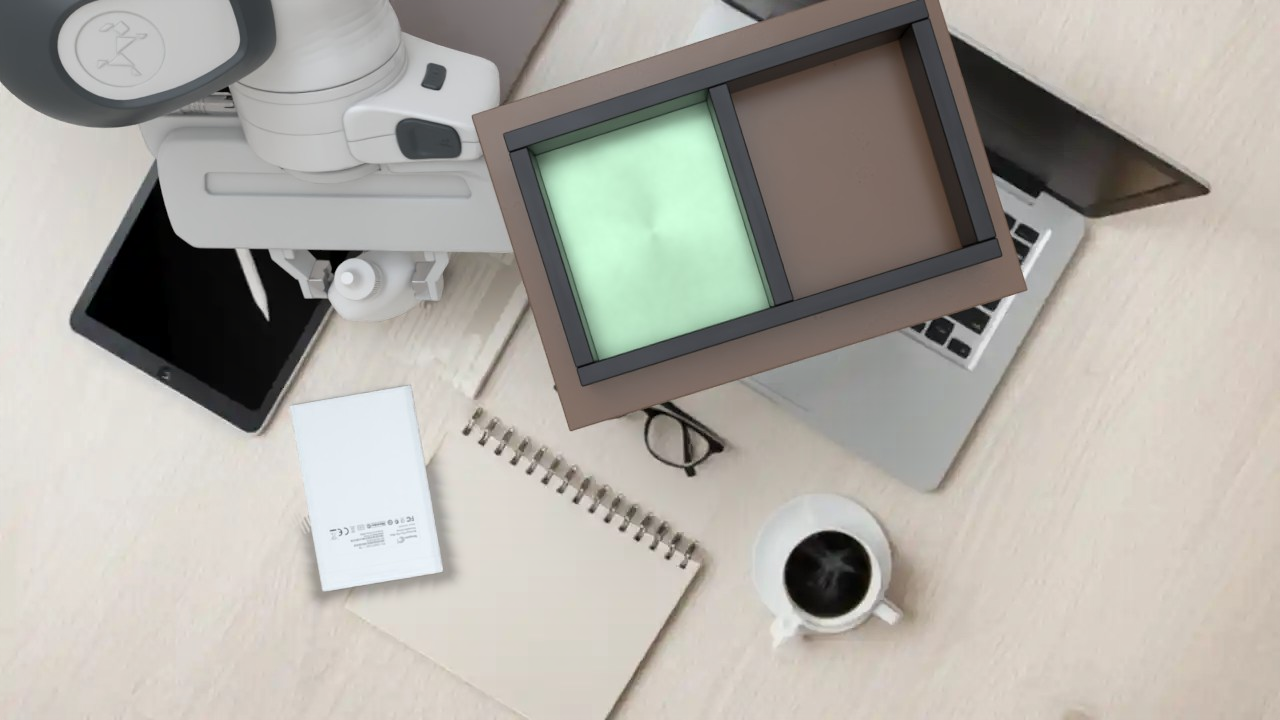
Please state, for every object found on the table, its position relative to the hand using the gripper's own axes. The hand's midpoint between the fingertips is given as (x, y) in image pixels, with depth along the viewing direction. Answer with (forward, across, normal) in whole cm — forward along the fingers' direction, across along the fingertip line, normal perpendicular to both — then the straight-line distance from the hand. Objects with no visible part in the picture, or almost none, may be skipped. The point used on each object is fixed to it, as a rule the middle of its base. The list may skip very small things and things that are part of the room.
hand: (376, 292), depth 66 cm
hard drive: (+14, -2, -4) cm, 14 cm away
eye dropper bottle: (+4, 0, +5) cm, 7 cm away
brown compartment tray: (-15, +21, -11) cm, 28 cm away
